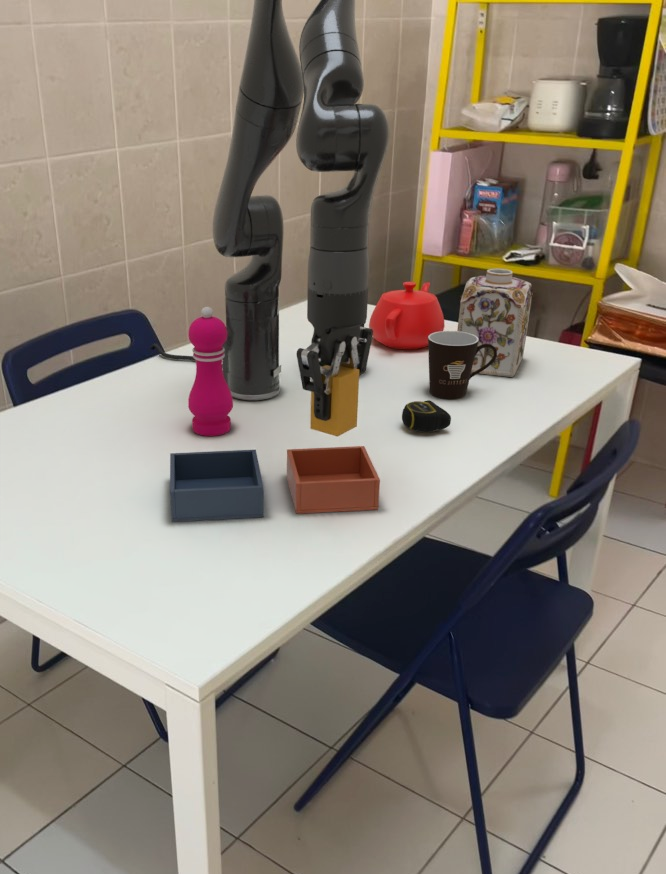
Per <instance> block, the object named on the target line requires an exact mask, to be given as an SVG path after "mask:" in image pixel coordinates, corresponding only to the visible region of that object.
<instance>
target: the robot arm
mask: <svg viewBox="0 0 666 874" xmlns="http://www.w3.org/2000/svg"><path fill="white" fill-rule="evenodd" d="M356 27H357V26H356V0H319V2H318V3H317V4H316V5H315V7H314V8H313V10H312V11H311V13H310V14H309V16H308V18H307V19H306V21H305V23H304V25H303V28H302V31H301V34H300V37H299V45H298V50H299V57H298V54H297V52H296V48H295V46H294V44H293V41H292V38H291V35H290V33H289V30H288V25H287V22H286V18H285V15H284V10H283V0H254V1H253V8H252V15H251V23H250V28H249V35H248V40H247V45H246V49H245V50H246V51H245V56H244V61H243V66H242V71H241V76H240V80H239V87H238V93H237V99H236V105H235V112H234V120H233V127H232V133H231V139H230V145H229V150H228V156H227V159H226V164H225V168H224V172H223V176H222V179H221V183H220V187H219V191H218V195H217V199H216V203H215V207H214V211H213V218H212V239H213V243H214V246H215V249H216V251H217V252H218V253H219V255H221V256H223V257H225V258H244V257H251V258H250V260H249V262H247V264H246V265H245V266H244V267H243V268H242V269H240V270H239V271H237V272H235V273H234V274H231V275H230V276H229V277H228V278H227V279H226V280H225V283H224V302H225V303H224V304H225V305H224V306H225V326H226V329H227V339H226V341H225V343H224V344H223V346H222V347H224V349H225V350H224V354H225V357H224V358H223V359H222V370H223V375H224V378H225V381H226V383H227V385H228V387H229V389H230V392H231V395H232V398H234V399H238V400H242V401H243V400H244V401H262V400H269V399H271V398H274V397H276V396H277V395H279V394H280V389H281V388H280V386H281V385H280V373H282V364H280V286H281V282H282V273H283V253H284V252H283V250H284V248H283V247H284V231H285V230H284V216H283V212H282V211H283V210H282V208H281V205H280V203H279V201H278V199H276V198H275V197H274V196H272V195H270V194H261V195H259V194H258V195H257V194H256V195H252V194H253V191H254V188H255V186H256V185H257V183H258V181H259V180H260V178H261V177H262V175H263V174H264V173H265V172H266V170H267V169H268V168H269V167H270V165H271V164H272V163H273V162H274V161H275V160H276V158H278V156H279V155H280V153H282V151H283V150H284V148H285V147H286V146H287V145H288V143H289V142H290V140H291V138H292V137H293V135H294V133H295V131H296V128H297V133H296V139H295V140H296V143H295V147H296V153H297V156H298V159H299V160H300V162H301V163H302V165H303V166H304V167H305V168H306V169H308V170H309V171H311V172H315V173H330V172H331V173H333V172H336V173H337V172H339V173H340V172H353V174H352V176H351V178H350V179H349V181H348V183H347V184H345V186H344V187H341V188H339V189H335V190H333V191H329V192H324V193H321V194H320V195H319V194H318V195H317V196H316V197H314V199H313V200H312V201H311V206H310V241H309V244H310V246H309V256H308V262H307V302H306V304H307V306H306V308H307V309H306V318H307V320H308V322H309V323H310V324H311V326H312V327H313V333H312V337H311V340H310V341H311V342H310V344H309V346H307V347H306V348H302V347H299V348H298V349H297V350H296V360H297V366H298V370H299V371H298V372H299V376H300V381H301V386H302V389H303V390H304V391H307V392H310V393H311V392H314V415H315V417H316V418H317V419H320V420H323V421H327V420H329V419H330V418H331V393H330V392H331V389H332V382H333V377H336V376H337V375H338V372H339V367H340V366H343V367H347V368H351V369H353V368H355V369H359V374H360V373H361V375H364V374H365V373H366V369H367V366H368V361H369V355H370V351H371V346H372V340H373V329H370V328H369V327H365V326H364V327H360V325H362V324H363V323H364V322H365V321H366V322H367V320H368V319H367V318H368V303H369V301H368V300H369V281H370V279H369V277H370V260H369V238H370V237H369V235H370V218H371V217H370V215H371V208H372V203H373V198H374V193H375V190H376V186H377V184H378V183H377V182H378V179H379V176H380V174H381V173H380V172H381V170H382V166H383V164H384V160H385V157H386V155H387V151H388V148H389V144H390V143H389V142H390V134H391V133H390V132H391V131H390V130H391V129H390V125H389V120H388V118H387V115H386V113H385V111H384V110H383V108H381V107H380V106H379V105H377V104H374V103H358V102H359V100H360V99H361V97H362V94H363V92H364V86H365V85H364V84H365V83H364V81H365V79H364V72H363V67H362V61H361V55H360V50H359V49H360V48H359V43H358V37H357V28H356ZM302 102H303V104H302ZM301 107H302V110H301ZM300 111H301V114H300ZM299 116H300V118H299ZM298 120H299V122H298ZM297 125H298V127H297ZM360 344H361V345H360ZM149 349H150V350H153V351H154V350H156V351H157V352H158V353H159V355H161V356H162V357H164V358H167V359H171V360H181V361H194V362H196V359H194V358H193V355H181V354H172V353H171V354H170V353H167V352H165V351H164V350H163V349H162V348H161V347H160V345H159V344H158V343H153V344H151V346H150V347H149ZM358 354H360V355H361V357H360V362H359V358H358ZM321 363H322V364H323V365H327V366H331V368H330V369H327V368H323V367H322V366H321ZM321 374H324V375H325V376H326V378H325V383H324V384H323V382H322V376H321ZM311 378H312V381H311Z"/></svg>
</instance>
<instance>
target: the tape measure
mask: <svg viewBox="0 0 666 874" xmlns="http://www.w3.org/2000/svg"><path fill="white" fill-rule="evenodd" d="M401 413H402V414H401V420H402V424H403V425H404V427H406V428H407V429H409V430H411V431H414V432H417V433H433V432H437V431H439V430H444V429H447V428H448V427H450V426H451V422H452V416H451V415H450V413H448V412H447V411H446V410H445V409H443V407H441V406H439V405H438V404H436V403H435V402H434V401H432V400H430V399H428V400H424V401H421V400H416V401H415V400H414V401H410V402H408V403H406V404H405V405H404V408H403V409H402V412H401Z"/></svg>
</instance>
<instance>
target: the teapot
mask: <svg viewBox="0 0 666 874" xmlns="http://www.w3.org/2000/svg"><path fill="white" fill-rule="evenodd" d="M402 285H403V287H404V288H405V289H397V290H390V291H386V292H384V293H382V294H381V296H380V298H379V300H378V301H377V303H376V305H375V307H374V308H373V311H372V313H371V316H370V318H369V323H368V328H370V329H373V336H372V338H374V339H375V340H376V341H377V342H378V343H380V344H382V345H384V346H385V347H387V348H391V349H397V350H419V349H424V348H427V347H428V336H429V335H430V334H432V333H435V332H440V331H445V328H446V327H445V317H444V313H443V310H442V307H441V304H440V302H439V300H438V297H437V296H436V295H435V294H434V293H431V292H429V291H430V285H431V283H430V282H429V281H428V282H424V283H423V284H422V286H421V289H420V290H417V289H415V288H416V287H417V282H414V281H405V282H403V283H402Z"/></svg>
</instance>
